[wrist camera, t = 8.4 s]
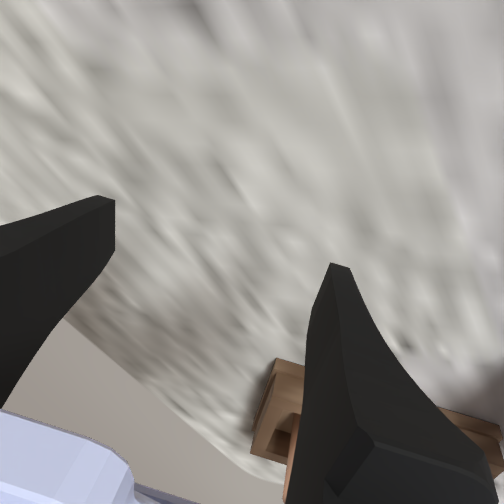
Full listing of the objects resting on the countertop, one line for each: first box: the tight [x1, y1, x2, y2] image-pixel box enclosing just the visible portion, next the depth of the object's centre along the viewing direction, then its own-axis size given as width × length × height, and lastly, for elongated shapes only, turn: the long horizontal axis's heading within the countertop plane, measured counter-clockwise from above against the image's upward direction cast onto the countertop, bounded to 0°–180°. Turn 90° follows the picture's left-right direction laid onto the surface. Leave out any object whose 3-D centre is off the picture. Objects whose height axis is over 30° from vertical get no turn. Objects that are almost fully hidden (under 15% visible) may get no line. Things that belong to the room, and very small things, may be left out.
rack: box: [250, 358, 504, 480], centre depth 30 cm, size 16×8×3 cm, turn 78°
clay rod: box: [283, 413, 301, 503], centre depth 28 cm, size 3×3×6 cm
